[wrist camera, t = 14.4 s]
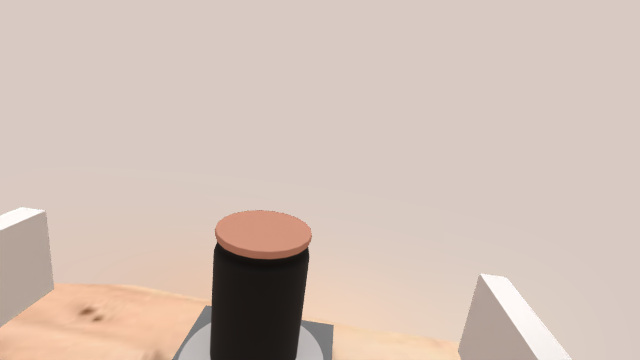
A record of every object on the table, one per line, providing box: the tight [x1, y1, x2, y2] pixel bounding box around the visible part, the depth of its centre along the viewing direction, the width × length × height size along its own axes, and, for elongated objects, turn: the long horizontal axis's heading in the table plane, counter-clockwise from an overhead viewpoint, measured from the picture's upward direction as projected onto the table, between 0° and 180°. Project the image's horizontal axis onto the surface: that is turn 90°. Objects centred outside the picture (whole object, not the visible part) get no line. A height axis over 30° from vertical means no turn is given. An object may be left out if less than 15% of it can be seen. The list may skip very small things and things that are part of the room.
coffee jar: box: [210, 210, 312, 360], centre depth 42 cm, size 11×11×18 cm
